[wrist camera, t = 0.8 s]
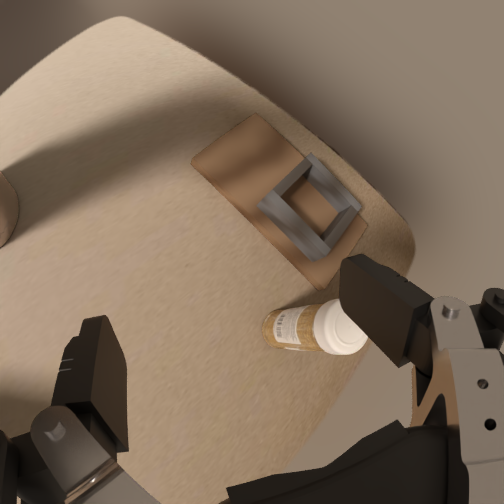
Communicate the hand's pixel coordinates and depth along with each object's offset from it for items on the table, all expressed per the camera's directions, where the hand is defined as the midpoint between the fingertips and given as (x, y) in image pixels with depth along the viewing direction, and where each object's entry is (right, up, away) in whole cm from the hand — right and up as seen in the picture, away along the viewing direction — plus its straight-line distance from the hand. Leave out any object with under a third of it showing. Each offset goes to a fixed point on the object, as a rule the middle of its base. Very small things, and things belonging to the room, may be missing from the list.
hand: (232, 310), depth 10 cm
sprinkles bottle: (+4, -7, +25) cm, 26 cm away
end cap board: (+5, +9, +29) cm, 31 cm away
